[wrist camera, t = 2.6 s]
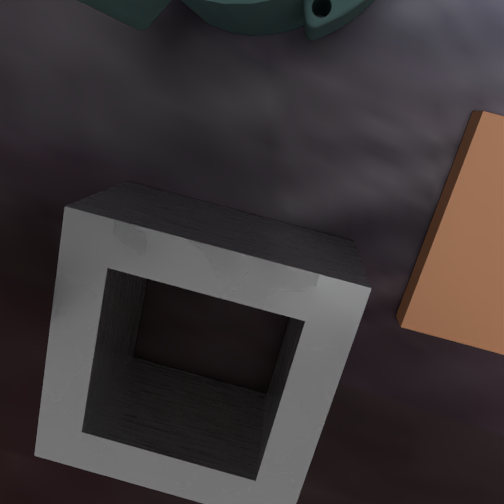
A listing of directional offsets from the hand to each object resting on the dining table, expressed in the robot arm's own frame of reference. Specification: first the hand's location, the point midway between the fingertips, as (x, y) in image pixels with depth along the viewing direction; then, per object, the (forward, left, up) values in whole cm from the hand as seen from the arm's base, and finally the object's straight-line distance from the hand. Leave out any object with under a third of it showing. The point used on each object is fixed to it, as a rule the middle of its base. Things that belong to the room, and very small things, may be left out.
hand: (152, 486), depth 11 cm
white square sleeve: (0, 0, -9) cm, 9 cm away
